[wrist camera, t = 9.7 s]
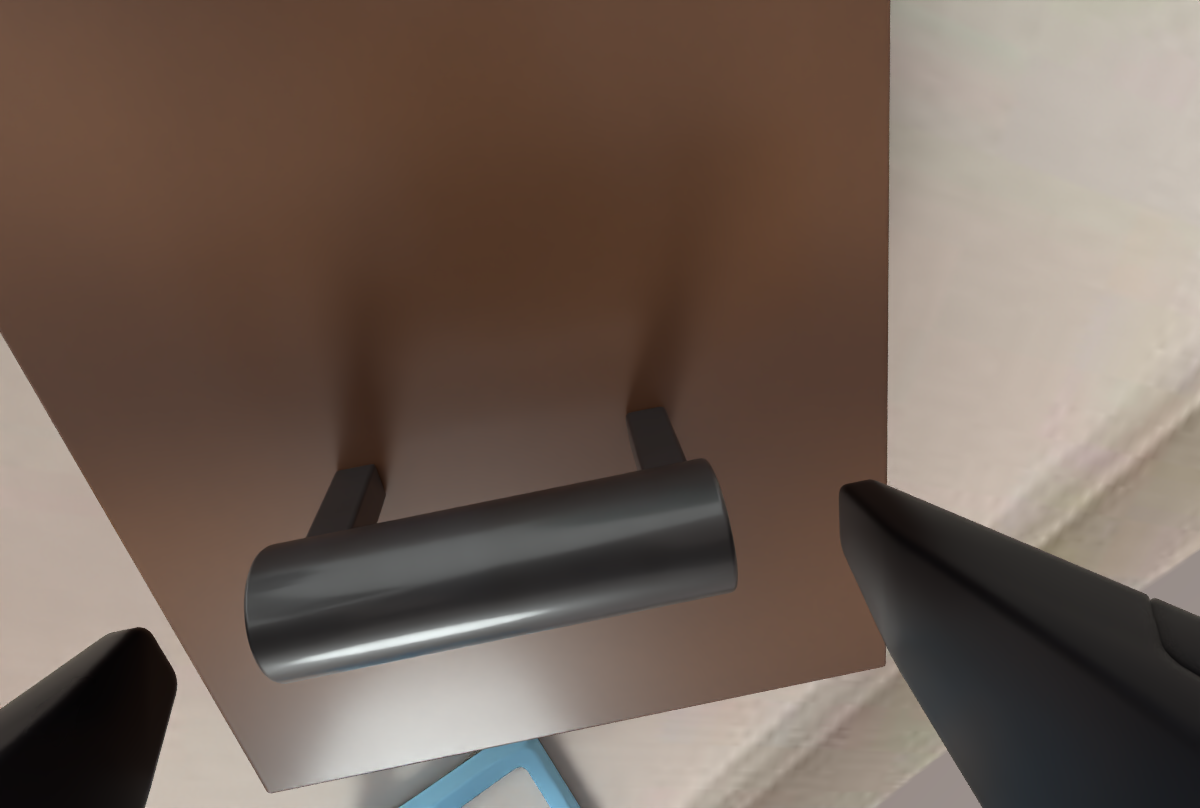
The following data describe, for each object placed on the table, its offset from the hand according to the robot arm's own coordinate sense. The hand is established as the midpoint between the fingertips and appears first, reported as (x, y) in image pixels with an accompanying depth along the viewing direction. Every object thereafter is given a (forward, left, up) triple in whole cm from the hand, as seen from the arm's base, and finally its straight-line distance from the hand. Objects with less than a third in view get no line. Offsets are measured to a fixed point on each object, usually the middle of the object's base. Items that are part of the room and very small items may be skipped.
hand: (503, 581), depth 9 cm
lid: (-1, 0, -4) cm, 4 cm away
